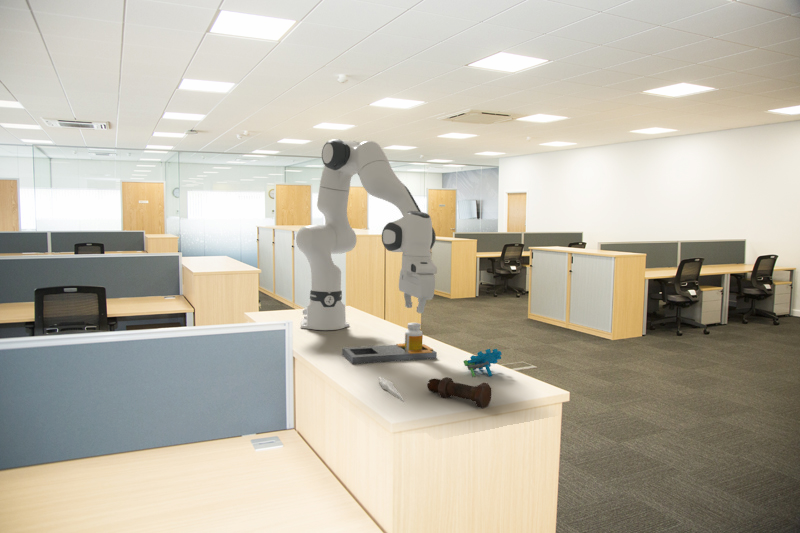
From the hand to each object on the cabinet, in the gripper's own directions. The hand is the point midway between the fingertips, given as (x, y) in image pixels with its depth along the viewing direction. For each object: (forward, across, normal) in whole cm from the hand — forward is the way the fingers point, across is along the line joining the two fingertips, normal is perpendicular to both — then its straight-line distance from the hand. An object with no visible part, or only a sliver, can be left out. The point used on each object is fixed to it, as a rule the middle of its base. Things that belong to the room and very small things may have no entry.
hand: (414, 310), depth 159 cm
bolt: (+14, +41, -5) cm, 44 cm away
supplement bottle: (+14, 0, 0) cm, 14 cm away
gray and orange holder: (+14, 0, -8) cm, 16 cm away
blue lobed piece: (+14, +24, +11) cm, 30 cm away
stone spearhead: (+14, +32, -18) cm, 39 cm away
